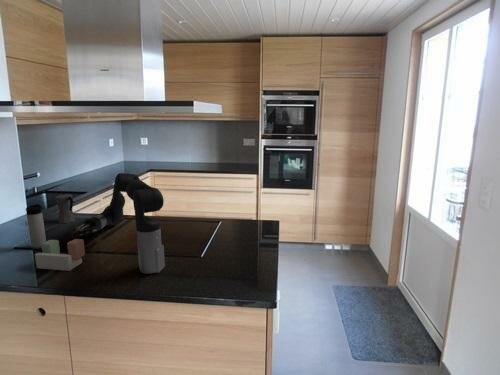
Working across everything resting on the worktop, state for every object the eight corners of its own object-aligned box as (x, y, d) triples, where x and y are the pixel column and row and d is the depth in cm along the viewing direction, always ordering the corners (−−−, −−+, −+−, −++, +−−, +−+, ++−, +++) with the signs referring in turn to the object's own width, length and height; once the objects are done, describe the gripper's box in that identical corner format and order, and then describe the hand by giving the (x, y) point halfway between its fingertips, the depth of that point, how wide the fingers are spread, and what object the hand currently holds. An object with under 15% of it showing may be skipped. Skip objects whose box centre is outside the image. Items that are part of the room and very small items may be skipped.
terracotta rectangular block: (85, 254, 148) (83, 239, 146) (77, 259, 143) (75, 243, 142) (76, 254, 149) (74, 238, 147) (69, 258, 144) (67, 243, 142)
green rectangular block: (60, 255, 147) (58, 240, 146) (51, 260, 142) (49, 244, 141) (52, 254, 148) (50, 239, 146) (43, 259, 143) (41, 244, 142)
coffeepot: (53, 221, 202) (49, 191, 198) (69, 217, 209) (65, 188, 205) (66, 225, 193) (62, 194, 189) (82, 221, 201) (79, 191, 197)
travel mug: (49, 243, 167) (44, 204, 162) (42, 248, 160) (36, 207, 156) (36, 243, 166) (30, 204, 162) (28, 249, 160) (22, 208, 156)
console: (82, 262, 145) (80, 249, 144) (69, 270, 138) (67, 256, 136) (51, 260, 148) (49, 247, 147) (36, 268, 140) (34, 254, 139)
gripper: (82, 215, 175) (58, 227, 158) (106, 217, 173) (84, 228, 156) (84, 229, 176) (61, 242, 160) (107, 231, 174) (86, 244, 158)
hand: (72, 235), depth 158 cm, fingers closed
